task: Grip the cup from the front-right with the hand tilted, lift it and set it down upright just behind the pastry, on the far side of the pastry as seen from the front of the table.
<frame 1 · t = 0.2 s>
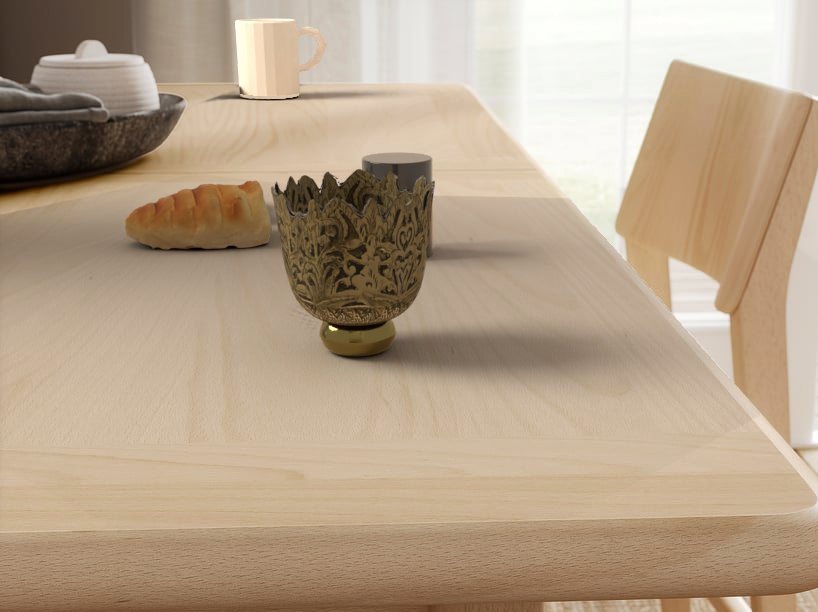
cup: (358, 352, 57), on the table
mug: (284, 98, 160), on the table
dark gray cylinder: (398, 252, 75), on the table
pastry: (210, 243, 78), on the table
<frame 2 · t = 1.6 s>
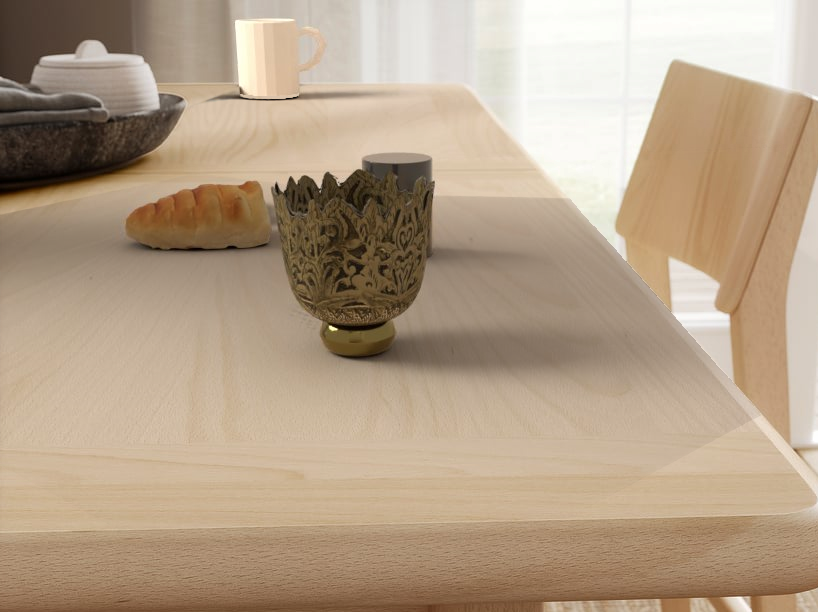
nothing on the table moved.
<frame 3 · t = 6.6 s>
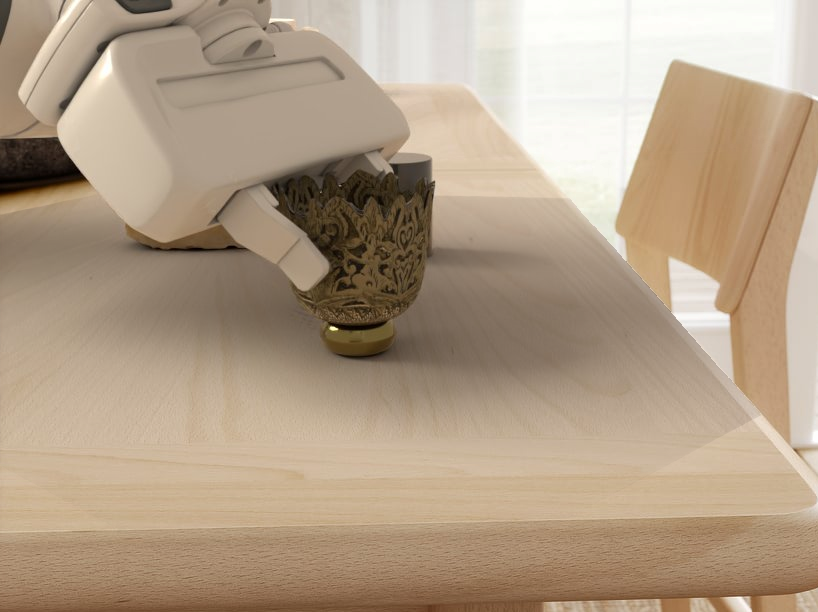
hand: (368, 259, 55), 4 cm above the table, tool tilted 45°, fingers closed on cup, 7 cm apart
cup: (358, 352, 57), on the table, touching gripper
everything else where it was.
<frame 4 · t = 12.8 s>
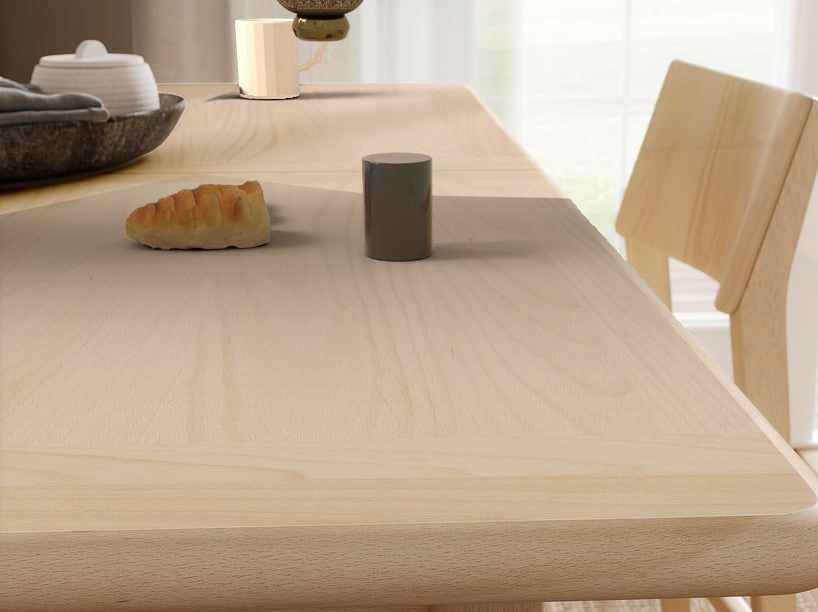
cup: (321, 43, 75), point 12 cm above the table, touching gripper
everything else where it was.
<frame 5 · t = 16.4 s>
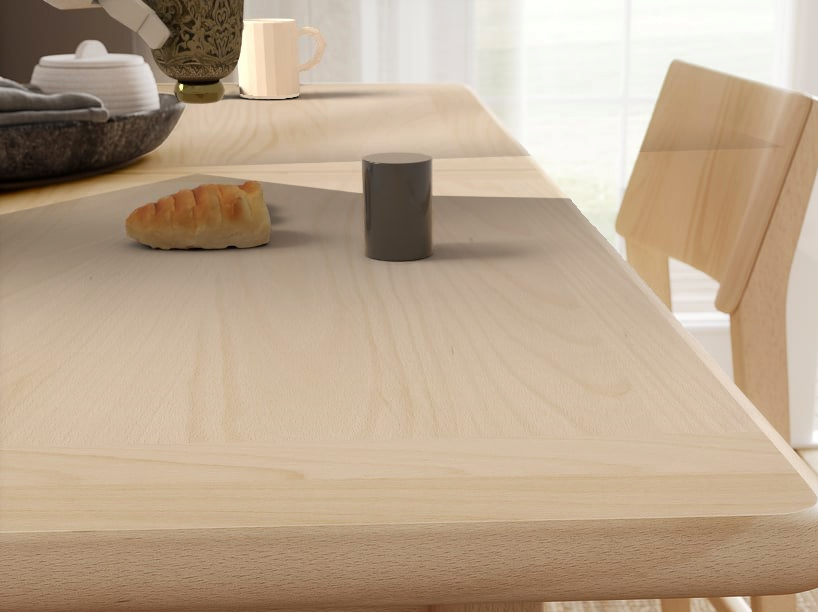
hand: (202, 38, 84), 12 cm above the table, tool tilted 45°, fingers closed on cup, 7 cm apart
cup: (200, 104, 86), point 7 cm above the table, touching gripper
everything else where it was.
when the fingers open (4 cm above the table, at t = 19.1 s): cup stays where it is, on the table.
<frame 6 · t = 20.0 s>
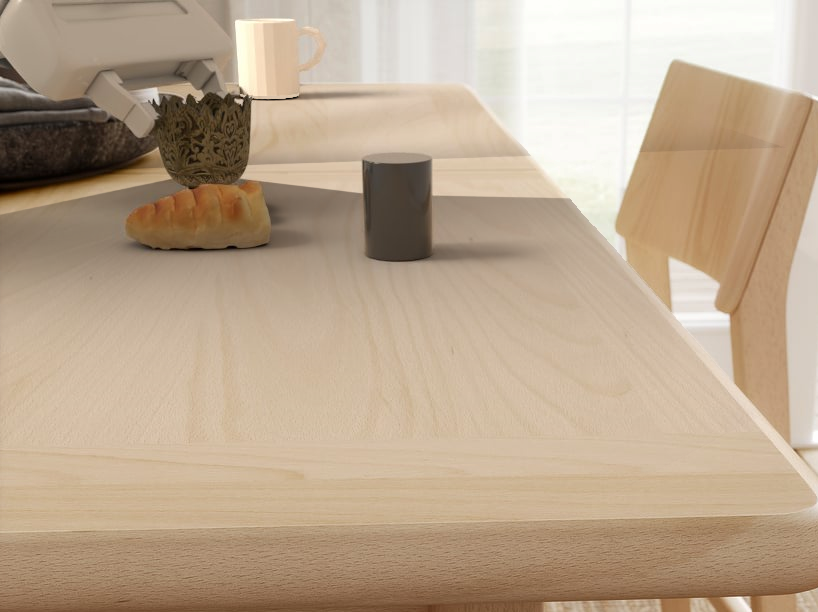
hand: (192, 123, 87), 6 cm above the table, tool tilted 45°, fingers open, 8 cm apart
cup: (210, 208, 89), on the table, touching gripper
everything else where it was.
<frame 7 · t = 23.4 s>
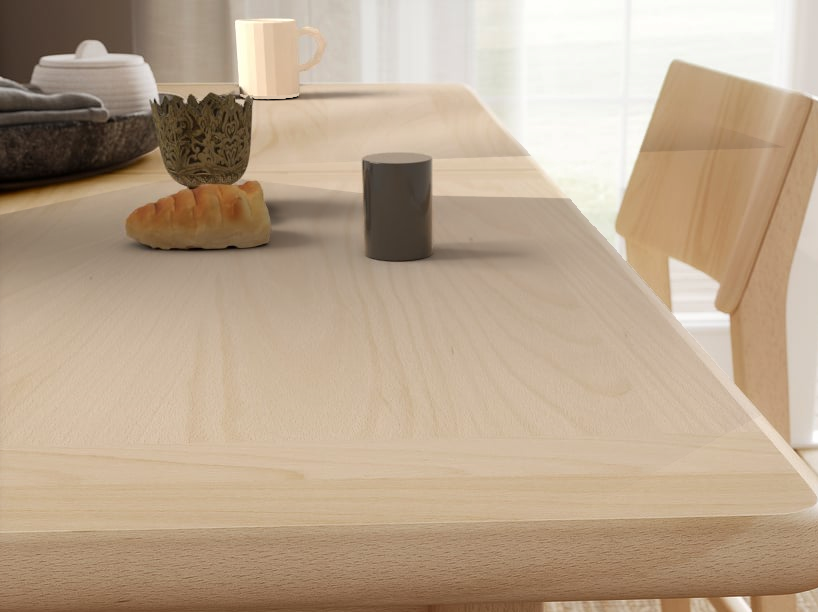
cup: (210, 208, 89), on the table
everything else where it was.
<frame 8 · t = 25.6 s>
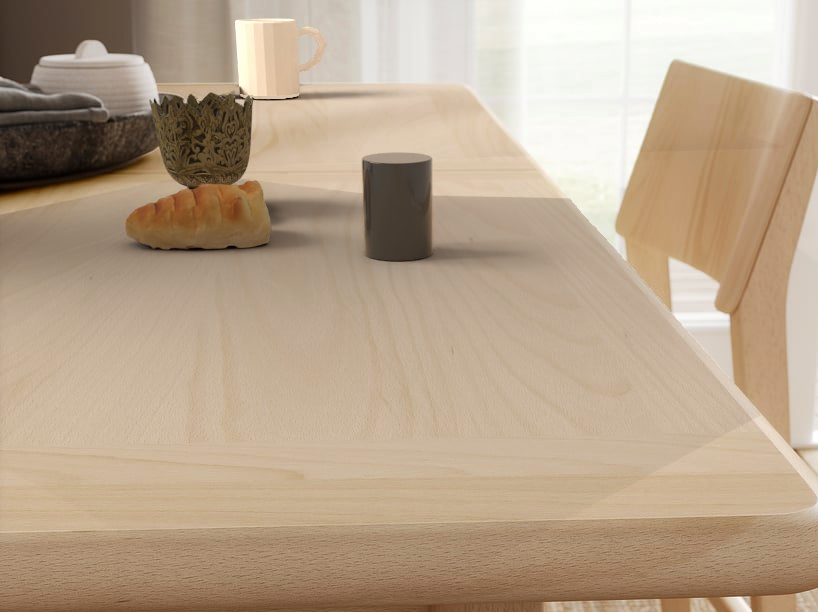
nothing on the table moved.
at the end: cup inside the target area on the table beside the pastry (0.8 cm from its centre), on the table; cup tilted 0°; pastry moved 0.2 cm from its start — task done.
